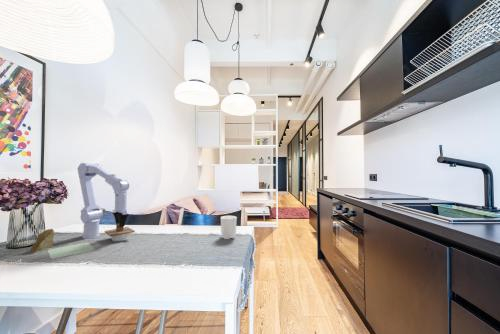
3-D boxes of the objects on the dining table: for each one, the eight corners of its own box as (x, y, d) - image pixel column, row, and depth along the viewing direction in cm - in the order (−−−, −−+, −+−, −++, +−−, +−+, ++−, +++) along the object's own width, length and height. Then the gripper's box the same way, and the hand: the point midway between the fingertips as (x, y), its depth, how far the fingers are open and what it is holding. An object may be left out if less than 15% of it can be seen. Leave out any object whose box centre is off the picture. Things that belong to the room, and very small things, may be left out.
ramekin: (108, 242, 118) (108, 234, 118) (114, 237, 126) (114, 230, 126) (126, 241, 120) (126, 233, 120) (130, 236, 129) (130, 229, 129)
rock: (33, 250, 99) (59, 241, 108) (26, 235, 100) (52, 227, 109) (27, 260, 103) (53, 251, 112) (20, 245, 105) (46, 237, 114)
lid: (104, 232, 123) (104, 223, 123) (127, 228, 132) (127, 220, 132) (110, 236, 115) (111, 227, 115) (134, 232, 123) (134, 223, 124)
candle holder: (217, 238, 125) (217, 218, 126) (224, 234, 135) (224, 215, 135) (233, 240, 123) (233, 219, 123) (238, 235, 132) (239, 216, 132)
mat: (47, 250, 105) (47, 249, 105) (87, 242, 117) (87, 242, 117) (51, 259, 94) (51, 259, 94) (94, 250, 106) (94, 249, 106)
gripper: (109, 201, 126) (108, 224, 125) (116, 203, 116) (116, 229, 115) (122, 200, 131) (122, 222, 130) (131, 202, 121) (130, 226, 121)
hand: (120, 225), depth 123 cm, fingers open, 6 cm apart
